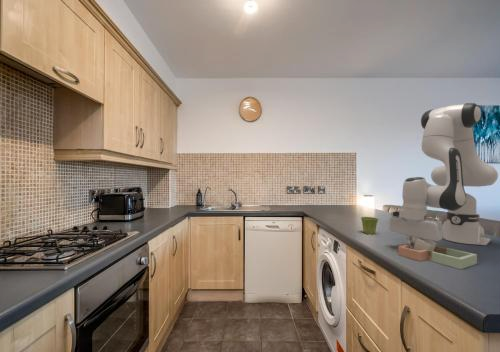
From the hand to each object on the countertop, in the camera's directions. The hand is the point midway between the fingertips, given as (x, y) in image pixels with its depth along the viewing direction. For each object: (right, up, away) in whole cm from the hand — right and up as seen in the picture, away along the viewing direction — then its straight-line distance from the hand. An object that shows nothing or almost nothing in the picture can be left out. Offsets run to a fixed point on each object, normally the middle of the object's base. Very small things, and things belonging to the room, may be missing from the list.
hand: (413, 246), depth 104 cm
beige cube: (+8, -3, +11) cm, 14 cm away
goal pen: (+7, -2, -12) cm, 14 cm away
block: (+2, -2, -3) cm, 4 cm away
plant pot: (-2, -3, +35) cm, 35 cm away
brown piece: (+2, -2, -3) cm, 4 cm away
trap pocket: (-4, -2, -6) cm, 8 cm away
